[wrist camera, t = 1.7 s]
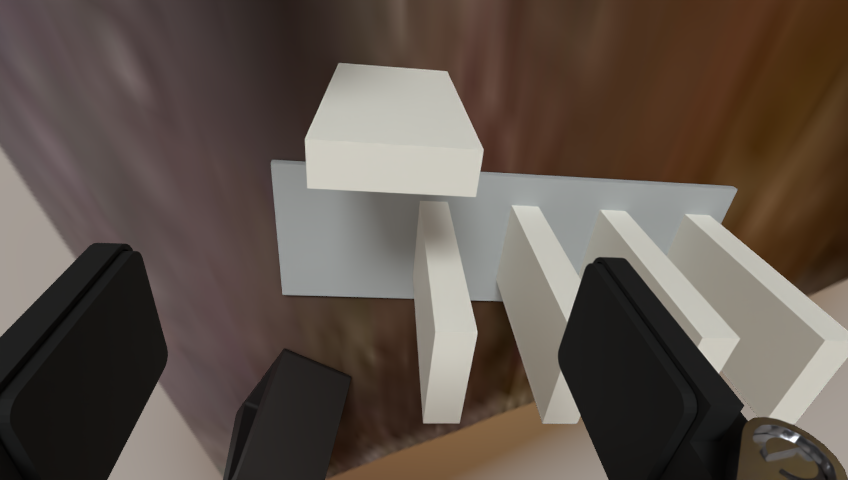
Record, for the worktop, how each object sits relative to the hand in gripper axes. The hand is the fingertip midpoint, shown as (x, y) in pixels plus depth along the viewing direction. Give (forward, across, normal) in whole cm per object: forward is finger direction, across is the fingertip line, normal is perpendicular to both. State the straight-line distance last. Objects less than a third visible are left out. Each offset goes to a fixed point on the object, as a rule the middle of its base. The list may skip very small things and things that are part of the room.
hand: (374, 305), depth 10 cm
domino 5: (+18, -22, +10) cm, 30 cm away
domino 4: (+18, -16, +10) cm, 26 cm away
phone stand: (+20, +6, +26) cm, 33 cm away
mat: (+19, -9, +10) cm, 23 cm away
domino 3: (+18, -10, +10) cm, 23 cm away
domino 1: (+19, -1, 0) cm, 19 cm away
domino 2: (+19, -4, +10) cm, 21 cm away
